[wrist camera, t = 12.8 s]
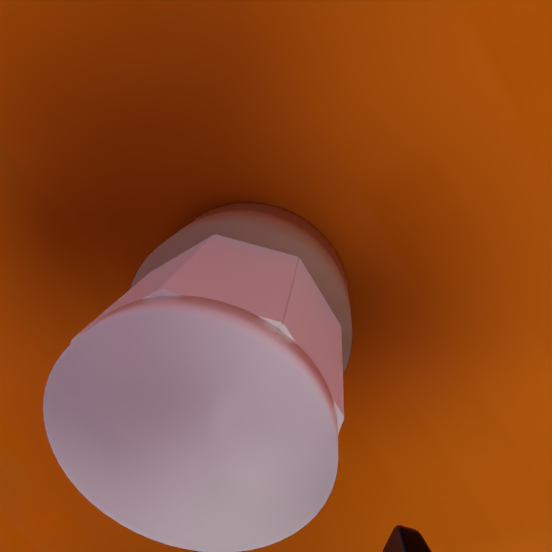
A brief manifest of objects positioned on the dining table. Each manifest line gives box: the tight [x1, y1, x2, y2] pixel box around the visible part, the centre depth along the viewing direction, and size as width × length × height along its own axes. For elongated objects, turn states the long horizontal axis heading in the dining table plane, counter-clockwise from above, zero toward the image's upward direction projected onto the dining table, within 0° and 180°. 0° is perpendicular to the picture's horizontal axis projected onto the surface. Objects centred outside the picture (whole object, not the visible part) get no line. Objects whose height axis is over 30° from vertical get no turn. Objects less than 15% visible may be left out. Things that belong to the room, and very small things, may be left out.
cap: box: [43, 234, 344, 552], centre depth 11 cm, size 7×7×5 cm
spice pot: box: [130, 203, 352, 374], centre depth 13 cm, size 8×8×7 cm
